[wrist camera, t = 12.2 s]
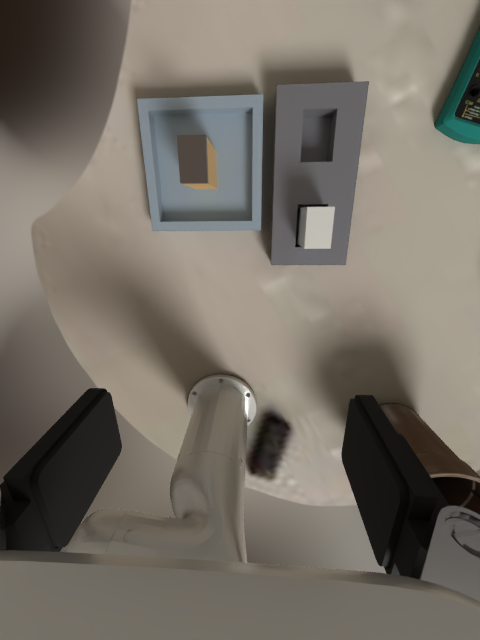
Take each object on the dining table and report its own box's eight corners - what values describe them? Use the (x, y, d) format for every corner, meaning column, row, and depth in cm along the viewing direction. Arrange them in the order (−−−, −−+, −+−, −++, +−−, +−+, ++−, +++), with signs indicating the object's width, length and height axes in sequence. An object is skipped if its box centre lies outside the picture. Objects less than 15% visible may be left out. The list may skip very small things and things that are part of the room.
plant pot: (356, 472, 55) (394, 568, 40) (326, 413, 51) (355, 497, 36) (441, 445, 52) (516, 541, 37) (416, 379, 47) (491, 457, 32)
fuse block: (338, 260, 41) (345, 265, 37) (270, 260, 41) (271, 264, 38) (358, 94, 33) (368, 81, 30) (275, 97, 34) (277, 84, 31)
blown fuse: (217, 189, 38) (207, 182, 30) (195, 189, 38) (180, 183, 30) (216, 150, 36) (205, 134, 28) (193, 151, 36) (176, 135, 29)
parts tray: (260, 229, 40) (260, 230, 37) (158, 230, 41) (152, 231, 38) (262, 102, 34) (263, 94, 32) (144, 106, 35) (136, 98, 33)
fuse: (316, 241, 39) (330, 248, 32) (295, 242, 40) (304, 248, 32) (319, 207, 38) (335, 206, 30) (297, 208, 38) (307, 207, 30)
